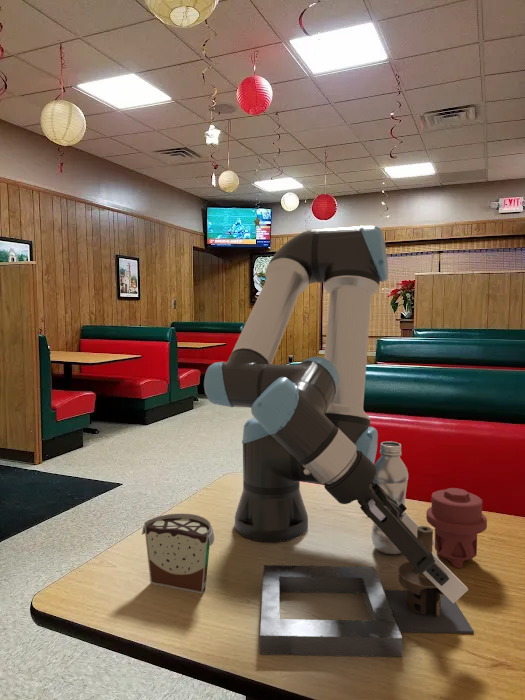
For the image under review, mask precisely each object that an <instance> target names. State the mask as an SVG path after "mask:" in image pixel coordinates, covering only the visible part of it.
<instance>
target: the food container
mask: <svg viewBox="0 0 525 700" xmlns="http://www.w3.org/2000/svg"><path fill="white" fill-rule="evenodd" d="M141 531H142V532H141V535H145V543H146V544H145V545H146V554H147V563H148V564H147V565H148V573H149V581H150V584H152V585H157V586H161V587H166V588H171V589H172V588H173V589H177V590H181V591H185V592H192V593H197V594H202V595H203V594H204V593H205V591H206V587H207V581H208V580H207V579H208V568H209V557H210V546H212V545H213V544H214V541H215V534H214V530H213V526H212V525H211V522H210V521H209V520H208V519H207V518H205V517H203V516H200V515H199V514H198V515H197V514H192V513H170V514H169V513H167V514H162V515H160V516H155V517H153V518H150V519H149V520H147V521H145V522H144V523H143V527H142V530H141Z"/></svg>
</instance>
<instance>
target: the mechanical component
mask: <svg viewBox="0 0 525 700" xmlns="http://www.w3.org/2000/svg"><path fill="white" fill-rule="evenodd" d="M426 521H427V523H428V524H430V526H431V527H433V528H434V542H435V544H434V549H435V551H436V554H437V556H439V557H442V558H444V559H445V560H446V561H448V562H450V563H451V564H452V566H453V567H454V568H458V569H461V568H463V567H464V562H465V561H468V560H471V559H474V558H476V556H477V553H478V552H477V551H478V534H482V533H483V532H484V531H486V530H487V526H488V519H487V517H486V516H485V515H484V513H483V499H482V498H480V497H479V496H478V495H476V494H473V493H471V492H468V491H467V490H465V489H462V488H457V487H449V488H446V489H440V490H436V491H434V492H432V494H431V506H430V507H429V508H427V509H426Z"/></svg>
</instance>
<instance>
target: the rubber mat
mask: <svg viewBox="0 0 525 700" xmlns="http://www.w3.org/2000/svg"><path fill="white" fill-rule="evenodd" d="M383 590H384V593H385V596H386V598H387V601H388V603H389V606H390V608H391V611H392V613H393V616H394V618H395V621H396V623H397V626H398V629H399V631H400V633H424V634H425V633H428V634H429V633H431V634H436V633H437V634H440V633H441V634H475V631H474V629H473V627H472V626H471V624H470V623H469V621H468V620H467V618H466V617H465V615H464V614H463V611H462V610H461V609H460V607H459V605H458V604H457V601H456V602H455V603H454V604H453V603H452V602H451V601H450V600H449V599H448V598H447V597H446V596H445V595H444V596H443V597H442V598H441V608H440V616H438V617H437V618H436V617H435V616H434V614H427V615H426V616H423V615H421V614H417V613H414V612H413V611H411V610H410V609H409V608H408V606H407V590H406V589H405V590H404V589H383Z"/></svg>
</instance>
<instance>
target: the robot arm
mask: <svg viewBox="0 0 525 700" xmlns="http://www.w3.org/2000/svg"><path fill="white" fill-rule="evenodd" d="M385 242H386V241H385V238H384V233H383V231H382V229H381V228H380V227H379V226H376V225H358V226H349V227H347V226H346V227H332V228H331V227H330V228H313V229H309V230H306V231H302V232H301V233H299V234H297V235H295V236H293V237H291V238H290V239H289V240H288V241H287V242H285V243H284V244H283V245H282V246H281V247H280V248H279V249H278V250H277V251H276V252H275V253H274V255H273V256H272V257H271V259H270V261H269V263H268V264H267V266H266V268H265V273H264V275H265V279H266V280H265V282H264V284H263V286H262V288H261V291H260V293H259V295H258V297H257V298H256V301H255V303H254V305H253V307H252V309H251V311H250V314H249V316H248V317H247V320H246V322H245V324H244V326H243V329H242V331H241V332H240V334H239V336H238V339H237V341H236V343H235V345H234V348H233V350H232V352H231V354H230V355H229V357H228V360H227V361H226V362H225V361H219V362H214V363H212V364H211V365H209V366H208V367H207V369H206V372H205V375H204V380H203V388H204V394H205V395H206V397H207V399H208V401H209V402H210V403H211V404H213V405H215V406H216V405H218V406H222V407H223V406H224V407H228V408H229V407H230V408H234V407H235V408H236V407H237V408H251V409H250V412H251V415H252V416H253V417H251V418H249V419H248V420H246V422H245V423H244V425H243V432H242V441H241V444H242V473H243V474H242V479H243V481H242V486H243V487H242V493H241V495H240V499H239V502H238V505H237V507H236V508H237V509H236V511H235V515H234V530H235V531H236V532H237V533H238V534H239V535H241V536H242V537H245V538H246V539H249V540H253V541H258V542H267V543H268V542H269V543H278V542H286V541H291V540H295V539H297V538H299V537H301V536H303V535H304V534H305V533H306V532H307V531H308V529H309V522H308V521H309V515H308V512H307V508H306V506H305V503H304V500H303V497H302V494H301V489H300V484H301V482H303V483H309V484H316V485H324V486H323V487H324V489H325V490H326V491H327V492H328V493H329V495H331V496H332V497H333V499H335V500H336V502H338V503H339V504H341V505H347V504H350V503H352V502H354V501H357V503H358V504H359V505H360V507H359V509H360V510H361V511H362V512H363V513H364V514H365V515H366V516H367V518H368V519H370V520H371V521H372V522H373V523H375V524H376V525H377V526H378V527H379V528H380V529H381V530H382V531H383V533H384V534H385V535H386V536H387V537H388V538H389V539H390V541H391V542H392V543H393V544H394V545H395V546H396V547H397V548H398V550H399V551H400V552H401V553H400V554H402V555H403V557H405V558H406V560H407V562H410V563H411V564H412V565H413V566H414V569H413V570H412V571H413V572H414V573H415V574H416V575H417V574H418V573H419V574H422V573H423V574H424V575H425V576H426V577H427V578H428V579H429V580H430V581H431V582H432V583H433V584H434V585H435V586H436V587H437V588H438V589H439V590H440V591H441V592H442V593H443V594H444V595H445V596H446V597H447V598H448V599H449V600H450V601H451V602H452V603H453V604H454V603H455V602H456V603H457V602H458V600H459V599H460V598H461V597H462V596H463V595H465V593H467V592H468V591H469V589H468V587H467V586H466V585H465V584H464V583H463V582H462V581H461V580H460V579H459V578H458V577H457V575H456V574H454V573H453V572H452V571H451V570H450V568H448V567H447V565H445V564H444V563H443V562H442V561H441V560H440V559H439V558H438V556H436V555H435V554H434V552H432V553H431V552H429V551H428V550H427V549H426V548H425V547H424V545H423V544H422V543H421V542H420V541H419V540H418V539H417V528H418V527H419V526H420V525H419V524H418V523H416V522H415V520H414V519H413V518H412V517H411V516H410V515H409V514H407V512H406V510H408V508H407V507H406V505H405V506H404V505H403V504H402V503H401V504H400V505H399V506H398V504H397V502H396V501H394V500H393V499H392V498H391V497H390V496H389V495H387V494H386V493H385V491H384V490H383V489H382V488H381V487H380V486H379V484H377V483H374V482H373V480H374V479H375V476H376V472H377V469H376V466H375V463H376V462H375V461H376V457H377V456H376V455H377V451H378V441H379V440H378V439H379V434H378V430H377V429H376V428H375V427H374V426H371V418H370V417H369V416H368V414H367V413H366V412H365V410H364V401H365V390H366V389H365V388H366V387H365V386H366V374H367V359H368V347H369V346H368V345H369V333H370V320H371V319H370V316H371V306H372V305H371V304H372V298H373V296H375V295H376V294H377V293H378V292H379V290H380V284H381V283H382V282H386V281H387V280H388V279H389V267H388V266H389V265H388V254H387V246H386V243H385ZM380 282H381V283H380ZM314 283H316V284H317V283H322V284H323V289H324V290H325V291H326V292H327V293H328V295H329V301H328V312H327V313H328V314H327V324H326V335H325V346H324V356H323V357H321V356H311V357H309V358H306V359H304V360H302V361H301V362H300V363H299V364H298V365H297V364H276V363H275V364H273V362H274V359H275V356H276V353H277V351H278V348H279V346H280V344H281V341H282V339H283V336H284V334H285V331H286V328H287V326H288V323H289V322H290V319H291V316H292V314H293V311H294V308H295V306H296V304H297V301H298V298H299V296H300V295H301V294H303V293H304V292H305V291H306V289H307V288H308V286H309V285H310V284H314ZM404 511H405V513H404V514H403V515H402V513H403V512H404ZM434 546H435V540H433V543H432V547H434Z"/></svg>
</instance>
